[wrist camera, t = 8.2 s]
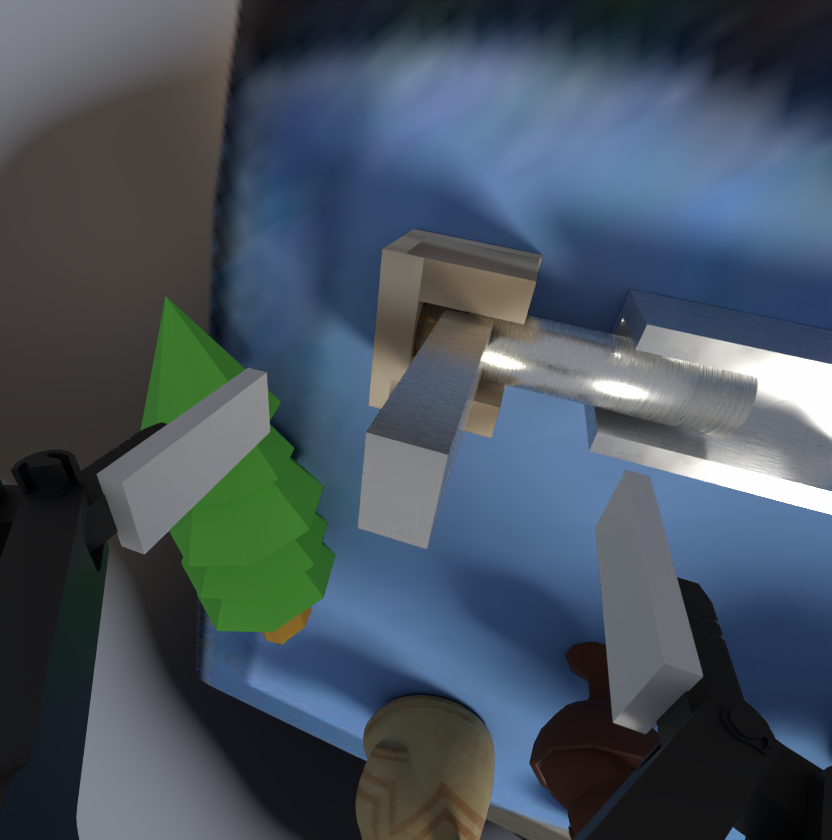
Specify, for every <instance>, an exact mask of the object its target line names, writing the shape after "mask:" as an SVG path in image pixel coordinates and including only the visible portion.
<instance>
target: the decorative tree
mask: <svg viewBox="0 0 832 840" xmlns="http://www.w3.org/2000/svg"><path fill="white" fill-rule="evenodd" d="M244 370H246V369H245V368H244V367H243V366H241V365H240V364H239V363H238V362H237V361H236V360H235V359H234V358H233V357H232V356H231V355H229V354H228V353H227V352H226V351H225V350H224V349H223V348H222V347H221V346H220V345H219V344H217V343H216V342H215V341H214V340H213V339H212V338H211V337H210V336H209V335H208V334H207V333H205V332H204V331H203V330H202V329H201V328H200V327H199V326H198V325H196V323H195V322H193V321H192V320H191V319H190V318H189V317H188V316H187V315H186V314H185V313H184V312H182V311H181V310H180V309H179V308H178V307H177V306H176V305H175V304H174V303H173V302H172V301H170V300H169V299H168V298H167V297H166V296H165V301H164V306H163V312H162V317H161V323H160V328H159V333H158V339H157V345H156V350H155V355H154V361H153V366H152V372H151V377H150V382H149V388H148V394H147V399H146V404H145V409H144V415H143V421H142V426H141V430H143V429H144V428H147V427H150V426H152V425H155V424H158V423H161V422H163V423H166V424H169V423H170V422H172V421H173V420H174V419H176V418H177V417H179V416H180V415H182V414H183V413H184V412H186V411H187V410H189V409H190V408H192V407H193V406H194V405H196V404H197V403H199V402H200V401H202V400H203V399H204V398H206V397H207V396H209V395H210V394H211V393H213V392H214V391H216V390H217V389H219V388H220V387H221V386H223V385H224V384H226V383H227V382H229V381H230V380H231V379H233V378H234V377H236V376H237V375H239V374H240V373H241V372H243V371H244ZM268 403H269V420H271V418H272V417H273V415H274V413H275V412H276V410H277V408H278V407H279V405H280V403H281V401H280V400H279V399H278V398H276V397H275V396H274V395H273V394H272V393H271V392H270V391H269V390H268ZM294 449H295V448H294V447H293V446H292V445H291V444H290V443H289V442H288V441H287V440H286V439H285V438H284V437H283V436H282V435H280V434H279V433H278V432H277V431H276V430H275V429H274V428H273V427H272V426H271V425H270V432H269V433H268V434H267V435H266V436H265V437H264V438H263V439H262V440H261V441H260V442H259V443H258V444H257V445H256V446H255V447H254V448H253V449H252V450H251V451H250V452H249V453H248V454H247V455H246V456H245V457H244V458H243V459H242V460H241V461H240V462H239V463H238V464H237V465H236V466H235V467H234V468H233V469H232V470H230V471H229V472H228V473H227V474H226V475H225V476H224V477H223V478H222V479H221V480H220V481H219V482H218V483H217V484H216V485H215V486H214V487H213V488H212V489H211V490H210V491H209V492H208V493H207V494H206V495H205V496H204V497H203V498H202V499H201V500H200V501H199V502H198V503H197V504H196V505H195V506H194V507H193V508H192V509H191V510H189V511H188V512H187V513H186V514H185V515H184V516H183V517H182V518H181V519H180V520H179V521H178V522H177V523H176V524H175V525H174V526H173V527H172V528H171V529H170V530H169V532H170V533H171V535H172V537H173V539H174V540H175V542H176V544H177V545H178V548H179V549H180V551H181V553H182V555H183V560H182V562H181V563H182V565H183V567H184V569H185V571H186V572H187V574H188V576H189V578H190V580H191V582H192V583H193V585H194V587H195V589H196V591H197V595H198V597H199V599H200V601H201V603H202V605H203V607H204V608H205V610H206V612H207V614H208V616H209V618H210V620H211V621H212V623H213V625H214V627H215V629H216V631H241V632H262V633H263V635H264V637H265V639H266V640H267V641H270V642H274V643H277V644H281V645H282V644H283V643H285V642H286V641H287V640H289V639H290V638H291V637H293V636H294V635H295V634H297V633H298V632H299V631H300V630H302V629H303V628H304V627H305V626H306V623H307V621H308V618H309V616H310V613H311V611H312V610H311V606H312V605H313V604H315V603H316V602H318V601H319V600H321V599H322V598H324V594H325V590H326V587H327V583H328V580H329V576H330V572H331V569H332V565H333V561H334V558H335V554H334V553H333V552H332V551H331V550H330V549H329V548H328V547H327V545H326V544H325V543H324V542H323V541H322V540H323V537H324V534H325V531H326V528H327V525H328V522H327V521H326V520H325V519H324V518H322V517H321V516H320V515H319V514H318V513H317V512H316V508H317V505H318V502H319V499H320V496H321V493H322V490H323V487H324V486H323V485H322V484H321V483H319V482H318V481H317V480H316V479H315V478H314V477H313V476H312V475H311V474H310V473H309V472H307V471H306V470H305V469H304V468H303V467H302V466H301V465H300V464H299V463H298V462H297V461H295V460H294V459H293V458H291V457H290V456H291V454H292V452H293V451H294Z"/></svg>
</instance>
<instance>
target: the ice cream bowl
mask: <svg viewBox="0 0 832 840" xmlns="http://www.w3.org/2000/svg"><path fill="white" fill-rule="evenodd" d="M565 655H566V658H567V661H568V664H569V666H570V669H571V671H572V672H573V673H575V674H577V675H578V676H580V677H581V678H583V679H584V680H586V681H588V683H589V694H590V696H589V699H588V700H585V701H577V702H574V703H571V704H569V705H566V706H565V707H564V708H563V709H561V710H560V711H559V712H558V713H556V714H555V715H554V716H553V717H552V718H551V719H550V720H549V721H548V722H547V724H546V725H545V726H544V727H543V728H542V729H541V730H540V732H539V734H538V736H537V738H536V740H535V742H534V745H533V750H532V754H531V759H530V763H529V764H530V765H531V767H532V769H533V771H534V773H535V775H536V777H537V779H538V780H539V782H540V784H541V785H542V786H543V787H545V788H547V789H548V790H549V791H550V793H551V795H552V797H554V798H555V799H556V800H557V801H558V802H559V803H560V804H561V805H562V806H563V807H564V808H565V809H566V810H568V818H569V822H570V826H568V827H569V835H570V837H571V839H572V840H573V839H574V838H575V837H576V836H577V835H578V834H579V833H580V831H581V830H582V829H583V828H584V827H585V826H586V825H587V824H588V822H589V821H590V820H591V819H592V818H593V817H594V816H595V814H596V813H597V812H598V811H599V810H600V809H601V808H602V807H603V805H604V804H605V803H606V802H607V801H608V800H609V799H610V797H611V796H612V795H613V794H614V793H615V792H616V791H617V790H618V788H619V787H620V786H621V785H622V784H623V783H624V782H625V780H626V779H627V778H628V777H629V776H630V775H631V774H632V773H633V771H634V770H635V769H636V768H637V767H638V766H639V765H640V764H641V762H642V759H643V758H644V757H645V756H646V755H647V754H648V753H649V752H650V751H651V750H652V749H653V748H655V747H656V746H657V745H658V744H659V743H660V739H659V733H658V732H656V731H655V730H654V729H653V728H652V729H651V730H650V731H649V732H648V733H647V734H644V733H641V732H638V731H635V730H632V729H630V728H627V727H624V726H621V725H618V724H616V723H613V718H612V707H611V696H610V685H609V674H608V662H607V651H606V645H604V644H599V643H593V642H588V643H583V644H578V645H573V646H572V647H571V649H570V650H569V651H568V652H567V653H566V654H565Z"/></svg>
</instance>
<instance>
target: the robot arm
mask: <svg viewBox="0 0 832 840" xmlns="http://www.w3.org/2000/svg"><path fill="white" fill-rule="evenodd" d="M269 432H270V420H269V403H268V385H267V372H263V371H259V370H256V369H252V368H247V369H246V370H244V371H243V372H241V373H240V374H239V375H237V376H236V377H234V378H233V379H231V380H230V381H229V382H227V383H226V384H224V385H223V386H221V387H220V388H219V389H217V390H216V391H214V392H213V393H211V394H210V395H209V396H207V397H206V398H204V399H203V400H202V401H200V402H199V403H197V404H196V405H194V406H193V407H192V408H190V409H189V410H187V411H186V412H184V413H183V414H182V415H180V416H179V417H177V418H176V419H174V420H173V421H172V422H170V423H169V424H166V423H163V422H161V423H158V424H155V425H152V426H150V427H147V428H144V429H143V430H141V431H140V432H138V433H137V434H135V435H134V436H132V437H131V438H130V440H126V441H125V442H124V443H122V444H121V445H119V447H118V448H115V449H113V450H112V451H110V452H109V453H107V454H106V455H104V456H103V457H101V458H100V459H98V460H97V461H95V462H94V463H93V464H91V465H89V466H88V467H86V468H85V469H83V470H82V471H80V468H79V465H78V463H77V460H76V457H75V455H73V454H72V453H70V452H69V451H64V450H47V451H42V452H38V453H35V454H32V455H30V456H27V457H25V458H24V459H22V460H21V461H19V462H18V463H16V464H15V466H14V467H13V468H12V469H11V471H12V473H13V476H14V477H15V480H16V482H17V483H18V485H3V484H2V482H1V480H0V840H79V836H78V830H77V821H76V814H77V803H78V795H79V787H80V779H81V771H82V763H83V755H84V746H85V738H86V731H87V723H88V722H87V721H88V715H89V706H90V699H91V691H92V682H93V674H94V666H95V658H96V650H97V642H98V634H99V626H100V618H101V610H102V602H103V594H104V586H105V578H106V570H107V561H108V554H109V546H108V542H107V540H108V539H110V538H111V537H112V536H113V535H114V534H115V533H116V532H117V534H118V537H119V540H120V542H121V545H122V546H123V547H126V548H129V549H131V550H134V551H137V552H140V553H142V554H145V553H146V552H147V551H148V550H149V549H150V548H152V547H153V546H154V544H156V543H157V542H158V541H159V540H160V539H161V538H162V537H163V536H164V535H165V534H166V533H167V532H168V531H169V530H170V529H171V528H172V527H173V526H174V525H175V524H176V523H177V522H178V521H179V520H180V519H181V518H182V517H183V516H184V515H185V514H186V513H187V512H188V511H189V510H191V509H192V508H193V507H194V506H195V505H196V504H197V503H198V502H199V501H200V500H201V499H202V498H203V497H204V496H205V495H206V494H207V493H208V492H209V491H210V490H211V489H212V488H213V487H214V486H215V485H216V484H217V483H218V482H219V481H220V480H221V479H222V478H223V477H224V476H225V475H226V474H227V473H228V472H229V471H230V470H232V469H233V468H234V467H235V466H236V465H237V464H238V463H239V462H240V461H241V460H242V459H243V458H244V457H245V456H246V455H247V454H248V453H249V452H250V451H251V450H252V449H253V448H254V447H255V446H256V445H257V444H258V443H259V442H260V441H261V440H262V439H263V438H264V437H265V436H266V435H267V434H268V433H269ZM595 528H596V539H597V551H598V562H599V573H600V584H601V595H602V607H603V618H604V629H605V640H606V651H607V662H608V674H609V685H610V696H611V707H612V718H613V723H616V724H618V725H621V726H624V727H627V728H630V729H632V730H635V731H638V732H641V733H644V734H647V733H648V732H649V731H650V730H651V729H652V728H653V727H654V726H655V725H656V724H657V727H658V733H659V739H660V743H659V744H658V745H657V746H656V747H655V748H653V749H652V750H651V751H650V752H649V753H648V754H647V755H646V756H645V757H644V758H643V759H642V762H641V764H640V765H639V766H638V767H637V768H636V769H635V770H634V771H633V773H632V774H631V775H630V776H629V777H628V778H627V779H626V780H625V782H624V783H623V784H622V785H621V786H620V787H619V788H618V790H617V791H616V792H615V793H614V794H613V795H612V796H611V797H610V799H609V800H608V801H607V802H606V803H605V804H604V805H603V807H602V808H601V809H600V810H599V811H598V812H597V813H596V814H595V816H594V817H593V818H592V819H591V820H590V821H589V822H588V824H587V825H586V826H585V827H584V828H583V829H582V830H581V831H580V833H579V834H578V835H577V836H576V837H575V838H574V839H573V840H725V838H726V837H727V835H728V834H729V832H730V830H731V829H732V827H734V828H735V829H736V830H738V831H739V832H740V833H742V834H743V835H745V836H746V838H745V840H832V766H830V767H828V768H826V769H824V770H822V769H821V768H819V767H817V766H816V765H814V764H813V763H811V762H810V761H808V760H806V759H805V758H803V757H802V756H800V755H799V754H797V753H795V752H794V751H792V750H791V749H789V748H787V747H786V746H784V745H783V744H782V743H780V742H779V741H778V740H776V739H775V737H774V734H773V733H772V731H771V729H770V727H769V726H768V724H767V722H766V721H765V720H764V719H763V718H762V716H761V715H760V714H759V713H758V712H757V711H756V710H755V709H754V708H753V707H752V706H750V705H749V704H748V703H746V702H745V700H744V698H743V695H742V692H741V689H740V686H739V683H738V680H737V677H736V674H735V671H734V668H733V665H732V662H731V659H730V656H729V653H728V650H727V647H726V644H725V641H724V640H723V639H722V638H723V635H722V632H721V629H720V626H719V625H718V624H717V622H718V620H717V617H716V614H715V611H714V608H713V604H712V602H711V601H710V599H709V598H708V596H707V595H706V594H705V592H704V591H703V590H702V588H701V587H700V585H699V584H697V583H694V582H691V581H687V580H684V579H681V578H677V576H676V572H675V569H674V565H673V561H672V557H671V554H670V550H669V546H668V543H667V539H666V535H665V531H664V528H663V524H662V520H661V516H660V513H659V509H658V505H657V502H656V498H655V494H654V490H653V487H652V483H651V479H650V477H649V476H646V475H642V474H638V473H635V472H631V471H627V470H626V471H625V472H624V474H623V476H622V478H621V480H620V482H619V484H618V486H617V488H616V490H615V491H614V493H613V495H612V497H611V499H610V501H609V503H608V505H607V507H606V508H605V510H604V512H603V514H602V516H601V518H600V520H599V522H598V524H597V526H596V527H595Z"/></svg>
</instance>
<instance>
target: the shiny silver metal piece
mask: <svg viewBox="0 0 832 840" xmlns="http://www.w3.org/2000/svg"><path fill="white" fill-rule="evenodd" d="M480 379H484V380H488V381H492V382H496V383H500V384H504V385H508V386H512V387H516V388H520V389H524V390H528V391H532V392H537V393H541V394H545V395H549V396H553V397H557V398H561V399H565V400H569V401H573V402H577V403H581V404H585V405H589V406H593V407H597V408H601V409H605V410H609V411H613V412H617V413H622V414H626V415H630V416H634V417H638V418H642V419H646V420H650V421H654V422H658V423H662V424H666V425H670V426H674V427H678V428H682V429H686V430H690V431H694V432H698V433H703V434H707V435H711V436H715V437H719V438H725V437H728V436H730V435H732V434H733V433H735V432H736V431H737V430H738V429H739V428H740V427H741V426H742V424H743V423H744V422H745V420H746V419H747V417H748V415H749V413H750V412H751V409H752V407H753V404H754V402H755V398H756V394H757V387H758V379H757V377H754V376H749V375H745V374H741V373H736V372H732V371H727V370H723V369H718V368H714V367H710V366H705V365H701V364H696V363H692V362H687V361H683V360H679V359H674V358H670V357H665V356H661V355H656V354H652V353H648V352H643V351H639V350H635V347H634V344H633V342H632V339H631V338H628V337H624V336H619V335H615V334H611V333H606V332H602V331H597V330H593V329H588V328H584V327H579V326H575V325H570V324H566V323H561V322H557V321H552V320H548V319H543V318H539V317H534V316H530V315H527V316H526V320H525V323H524V324H519V323H515V322H510V321H506V320H502V319H497V318H493V317H488V316H484V315H479V314H475V313H471V312H466V311H462V310H457V309H453V308H448V307H444V306H440V305H435V304H431V303H426V302H424V305H423V308H422V311H421V314H420V317H419V321H418V325H417V329H416V334H415V340H414V348H413V361H412V362H411V364H410V365H409V367H408V368H407V370H406V372H405V373H404V375H403V376H402V378H401V379H400V381H399V382H398V384H397V385H396V387H395V389H394V390H393V392H392V393H391V395H390V396H389V398H388V399H387V401H386V402H385V404H384V406H383V407H382V409H381V410H380V412H379V413H378V415H377V416H376V418H375V419H374V421H373V423H372V424H371V426H370V427H369V429H368V430H367V432H366V440H365V451H364V463H363V474H362V486H361V497H360V509H359V521H358V528H360V529H363V530H366V531H369V532H372V533H376V534H379V535H382V536H385V537H389V538H392V539H395V540H398V541H402V542H405V543H408V544H411V545H415V546H418V547H421V548H424V549H427V547H428V544H429V541H430V538H431V534H432V531H433V528H434V525H435V522H436V519H437V515H438V512H439V509H440V506H441V503H442V500H443V496H444V493H445V490H446V487H447V484H448V481H449V477H450V474H451V471H452V468H453V465H454V462H455V458H456V455H457V452H458V449H459V446H460V443H461V439H462V436H463V433H464V430H465V427H466V424H467V420H468V417H469V414H470V411H471V408H472V405H473V401H474V398H475V395H476V392H477V388H478V384H479V380H480Z"/></svg>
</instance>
